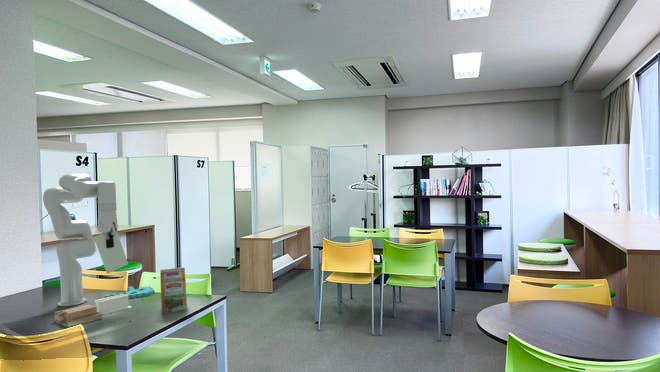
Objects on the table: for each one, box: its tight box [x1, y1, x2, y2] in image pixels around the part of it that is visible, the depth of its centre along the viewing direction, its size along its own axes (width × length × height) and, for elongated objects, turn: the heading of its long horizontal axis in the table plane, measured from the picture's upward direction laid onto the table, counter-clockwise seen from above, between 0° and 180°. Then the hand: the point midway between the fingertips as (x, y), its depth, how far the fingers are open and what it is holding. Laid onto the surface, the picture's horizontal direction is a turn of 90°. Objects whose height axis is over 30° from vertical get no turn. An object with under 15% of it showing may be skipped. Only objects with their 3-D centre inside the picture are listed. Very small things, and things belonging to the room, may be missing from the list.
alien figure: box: [104, 286, 156, 300], centre depth 232 cm, size 20×2×20 cm
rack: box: [53, 304, 103, 328], centre depth 184 cm, size 14×13×6 cm
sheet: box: [93, 230, 129, 274], centre depth 200 cm, size 1×10×18 cm, turn 143°
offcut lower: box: [63, 312, 98, 325], centre depth 182 cm, size 6×11×2 cm, turn 143°
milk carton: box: [159, 266, 188, 315], centre depth 199 cm, size 11×11×19 cm
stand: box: [94, 294, 133, 315], centre depth 199 cm, size 9×13×6 cm
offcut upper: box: [63, 304, 98, 319], centre depth 182 cm, size 6×11×2 cm, turn 143°
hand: (109, 247), depth 199 cm, fingers closed on sheet, 1 cm apart
